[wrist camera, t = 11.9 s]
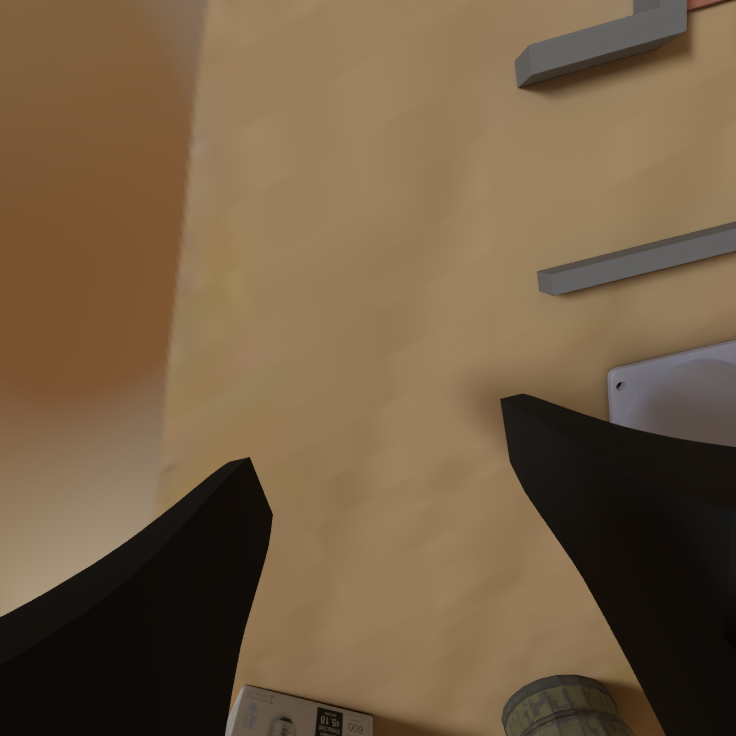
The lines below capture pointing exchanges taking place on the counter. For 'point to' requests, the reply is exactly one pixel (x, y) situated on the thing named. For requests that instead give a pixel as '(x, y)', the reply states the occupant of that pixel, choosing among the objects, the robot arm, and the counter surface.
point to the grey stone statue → (563, 709)
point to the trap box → (598, 46)
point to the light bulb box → (291, 717)
